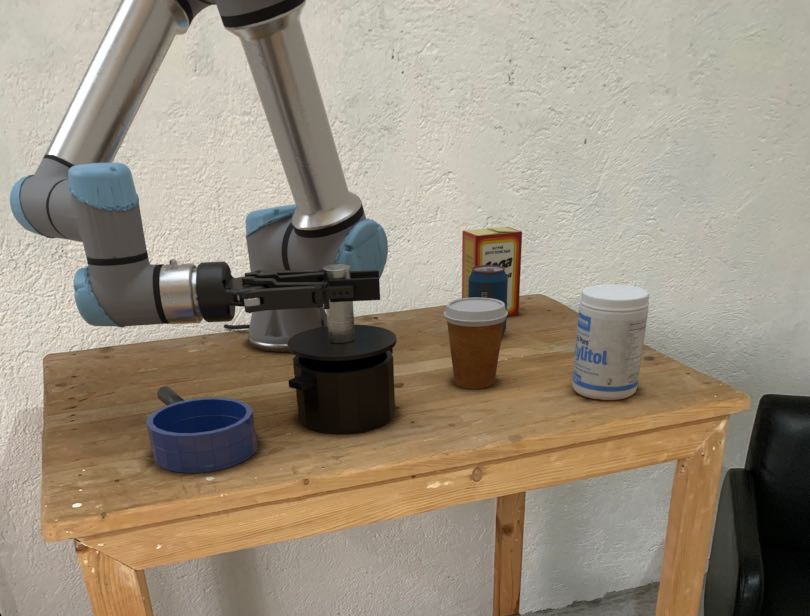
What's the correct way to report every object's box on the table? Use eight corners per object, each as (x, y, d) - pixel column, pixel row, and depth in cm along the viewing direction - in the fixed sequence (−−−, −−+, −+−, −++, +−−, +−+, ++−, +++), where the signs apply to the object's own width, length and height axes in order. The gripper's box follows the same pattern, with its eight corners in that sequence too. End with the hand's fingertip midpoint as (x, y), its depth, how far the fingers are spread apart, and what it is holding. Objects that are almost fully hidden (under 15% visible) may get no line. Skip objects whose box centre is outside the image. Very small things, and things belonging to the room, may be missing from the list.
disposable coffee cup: (502, 393, 119) (504, 313, 113) (439, 391, 121) (438, 311, 115) (507, 373, 127) (510, 297, 121) (449, 371, 129) (449, 296, 123)
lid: (265, 353, 107) (255, 272, 102) (338, 327, 117) (332, 251, 112) (347, 372, 100) (341, 285, 94) (418, 342, 109) (416, 262, 104)
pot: (265, 426, 111) (257, 367, 106) (354, 387, 123) (350, 333, 119) (338, 449, 103) (333, 386, 99) (424, 405, 116) (423, 347, 112)
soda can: (496, 329, 149) (498, 262, 143) (512, 338, 144) (514, 270, 138) (462, 333, 148) (462, 266, 142) (476, 343, 142) (477, 273, 136)
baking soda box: (474, 320, 155) (475, 233, 147) (461, 312, 160) (462, 228, 152) (518, 315, 158) (522, 229, 150) (504, 307, 163) (507, 224, 155)
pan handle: (156, 400, 114) (153, 386, 113) (171, 397, 115) (169, 382, 114) (180, 422, 106) (177, 406, 105) (195, 418, 107) (193, 403, 106)
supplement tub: (559, 393, 119) (566, 293, 111) (591, 376, 125) (599, 280, 117) (619, 407, 113) (631, 302, 106) (649, 388, 119) (662, 288, 112)
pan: (141, 446, 106) (133, 411, 103) (234, 424, 112) (229, 390, 109) (173, 482, 96) (165, 444, 93) (273, 455, 102) (268, 419, 99)
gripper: (182, 277, 95) (379, 268, 95) (206, 250, 109) (377, 243, 110) (193, 339, 99) (382, 331, 99) (215, 305, 113) (379, 298, 113)
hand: (379, 284), depth 104 cm, fingers closed on lid, 4 cm apart
